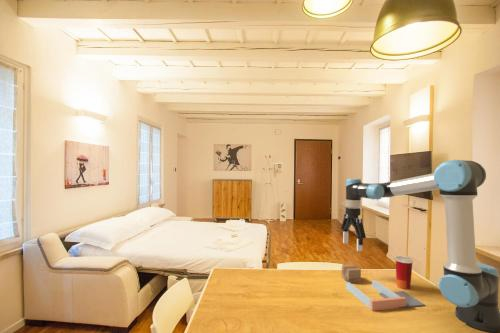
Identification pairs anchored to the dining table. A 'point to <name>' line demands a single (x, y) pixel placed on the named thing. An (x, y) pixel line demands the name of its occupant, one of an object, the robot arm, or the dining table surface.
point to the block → (351, 273)
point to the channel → (378, 304)
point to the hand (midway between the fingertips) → (352, 246)
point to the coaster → (409, 299)
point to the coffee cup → (403, 271)
